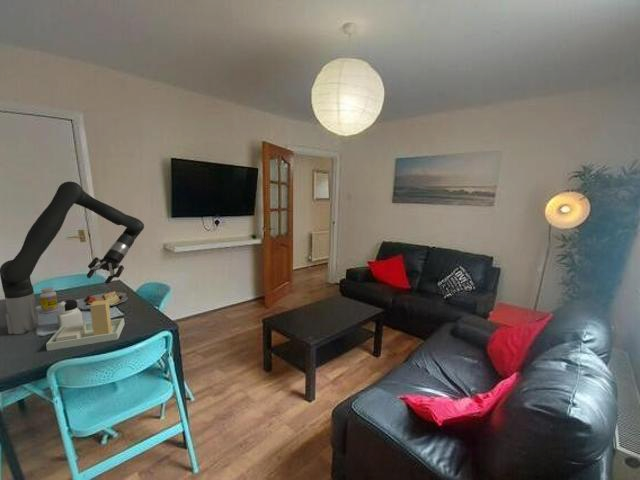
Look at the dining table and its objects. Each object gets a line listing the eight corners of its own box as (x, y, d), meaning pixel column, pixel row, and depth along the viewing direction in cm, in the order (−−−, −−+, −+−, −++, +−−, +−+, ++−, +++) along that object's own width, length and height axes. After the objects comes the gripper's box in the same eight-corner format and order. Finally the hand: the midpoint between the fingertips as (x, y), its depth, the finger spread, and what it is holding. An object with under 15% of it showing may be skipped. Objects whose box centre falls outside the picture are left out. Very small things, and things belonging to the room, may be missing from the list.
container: (79, 321, 145) (76, 297, 143) (83, 326, 140) (80, 301, 138) (58, 327, 139) (55, 301, 137) (62, 332, 134) (58, 306, 132)
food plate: (77, 300, 171) (76, 294, 170) (124, 292, 186) (124, 287, 185) (78, 316, 152) (77, 309, 152) (130, 306, 167) (130, 300, 167)
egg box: (56, 347, 120) (55, 338, 120) (67, 333, 131) (66, 325, 130) (78, 343, 123) (76, 335, 122) (86, 331, 134) (85, 323, 133)
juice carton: (93, 337, 128) (90, 305, 126) (97, 332, 133) (93, 301, 131) (108, 335, 130) (105, 304, 128) (111, 330, 135) (108, 299, 133)
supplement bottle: (48, 314, 152) (45, 291, 150) (38, 312, 153) (34, 289, 151) (61, 309, 158) (58, 286, 156) (52, 308, 160) (49, 285, 158)
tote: (47, 353, 118) (46, 343, 117) (62, 334, 132) (61, 326, 131) (118, 341, 128) (117, 333, 127) (124, 325, 142) (123, 318, 141)
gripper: (100, 244, 145) (78, 273, 136) (129, 254, 147) (109, 282, 138) (105, 251, 151) (85, 278, 143) (133, 260, 153) (114, 287, 144)
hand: (97, 280), depth 140 cm, fingers open, 8 cm apart
